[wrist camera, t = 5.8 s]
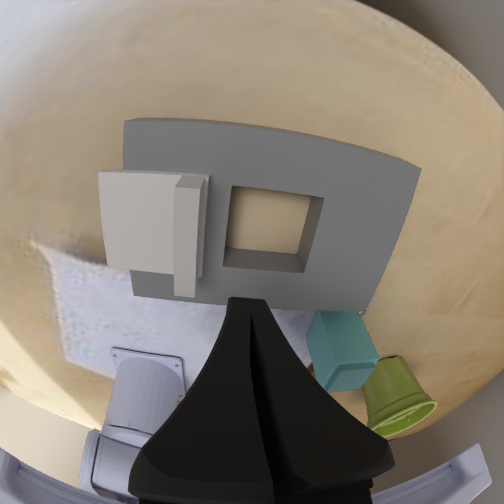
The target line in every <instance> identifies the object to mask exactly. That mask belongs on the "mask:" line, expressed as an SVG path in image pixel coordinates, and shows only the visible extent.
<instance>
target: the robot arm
mask: <svg viewBox="0 0 504 504" xmlns="http://www.w3.org/2000/svg"><path fill="white" fill-rule="evenodd" d="M110 353H111V356H112V359H113V361H114V364H115V366H116V369H117V375H116V378H115V382H114V385H113V389H112V393H111V396H110V400H109V404H108V408H107V412H106V416H105V420H104V424H103V426H102V430H101V434H99V430H97V429H93V430H92V431H89V432H88V435H87V438H86V442H85V446H84V451H83V456H82V461H81V467H80V485H79V489H78V488H76V487H73V486H71V485H68V484H66V483H64V482H61V481H59V480H56V479H54V478H52V477H50V476H48V475H46V474H44V473H42V472H40V471H38V470H36V469H34V468H32V467H31V466H28V465H27V464H25V463H23V462H21V461H20V460H18V459H17V458H16V457H14V456H13V455H11V454H9V453H8V452H6V451H5V450H3V449H1V448H0V504H469V503H470V502H471V501H472V500H473V499H474V498H475V497H476V496H477V495H478V494H480V493H481V492H482V491H483V490H484V489H485V488H487V487H488V486H489V485H490V484H491V483H492V481H491V477H490V474H489V471H488V468H487V465H486V462H485V459H484V456H483V453H482V451H481V448H480V445H479V444H478V443H477V444H475V445H474V446H472V447H470V448H469V449H467V450H466V451H464V452H462V453H461V454H459V455H458V456H456V457H454V458H453V459H451V460H450V461H448V462H446V463H444V464H443V465H441V466H439V467H437V468H435V469H433V470H431V471H429V472H427V473H425V474H423V475H421V476H419V477H416V478H414V479H412V480H410V481H407V482H405V483H402V484H400V485H398V486H395V487H393V488H390V489H387V490H384V491H381V492H379V493H376V494H373V495H371V494H370V490H369V488H372V487H373V482H372V478H374V477H376V476H378V475H380V474H382V473H384V472H386V471H388V470H390V469H392V468H393V467H394V465H395V462H394V459H393V455H392V451H391V448H390V446H389V443H388V441H387V440H386V439H385V438H383V437H382V436H380V435H378V434H377V433H375V432H374V431H372V430H371V429H369V428H368V427H366V426H365V425H364V424H362V423H361V422H360V421H359V420H357V419H356V418H355V417H354V416H352V415H351V414H350V413H349V412H348V411H347V410H345V409H344V408H343V407H342V406H341V405H340V404H339V403H338V402H337V401H336V400H335V399H334V398H333V397H331V396H330V395H329V394H328V392H327V391H326V390H325V389H324V388H323V387H322V386H321V385H320V384H319V383H318V382H317V380H316V379H315V378H314V377H313V376H312V375H311V373H310V372H309V371H308V369H307V368H306V367H305V366H304V364H303V363H302V362H301V360H300V359H299V357H298V356H297V355H296V353H295V352H294V350H293V349H292V347H291V346H290V344H289V342H288V341H287V339H286V337H285V336H284V334H283V333H282V331H281V329H280V327H279V326H278V324H277V322H276V320H275V318H274V316H273V314H272V312H271V310H270V308H269V306H268V304H267V302H266V301H265V300H264V299H255V298H243V297H230V298H228V303H227V310H226V316H225V319H224V322H223V325H222V328H221V330H220V333H219V335H218V338H217V340H216V342H215V345H214V347H213V349H212V351H211V353H210V355H209V357H208V359H207V361H206V363H205V365H204V366H203V368H202V370H201V372H200V373H199V375H198V377H197V378H196V380H195V382H194V383H193V385H192V386H191V388H190V389H189V391H188V392H187V394H186V395H185V389H184V379H183V368H182V360H181V359H180V358H176V357H168V356H161V355H154V354H147V353H140V352H134V351H128V350H123V349H117V348H111V349H110ZM177 400H179V401H181V402H180V403H179V405H178V406H177Z"/></svg>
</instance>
